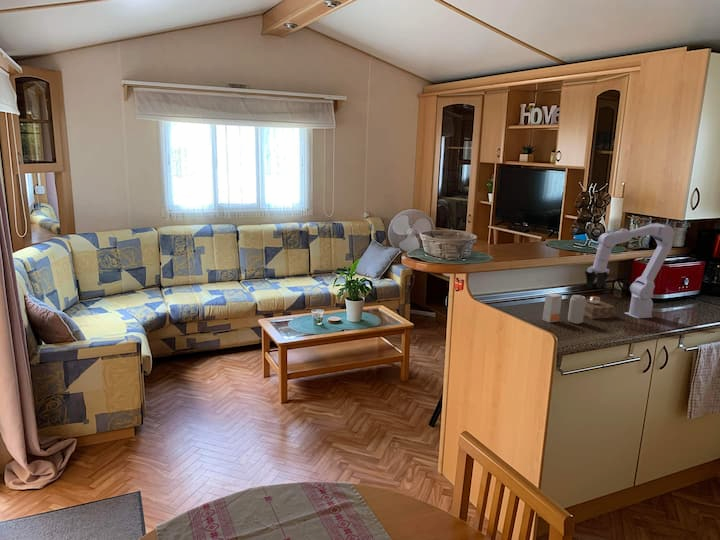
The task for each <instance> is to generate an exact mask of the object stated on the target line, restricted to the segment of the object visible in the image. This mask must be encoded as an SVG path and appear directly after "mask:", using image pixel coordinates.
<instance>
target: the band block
mask: <svg viewBox="0 0 720 540" xmlns="http://www.w3.org/2000/svg"><path fill="white" fill-rule="evenodd" d="M585 300H586V303H585V310H584V317H586V316H587V317H586V318H588V317H589V319H591V320H592V319H594V320H595V318H596V319H607V318H614V316H615V313H616V306H614V305H611V304H609V303H606V302H604V301H602V300H600V302H599V305H591V304H589V300H590V298H589V299H585Z"/></svg>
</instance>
